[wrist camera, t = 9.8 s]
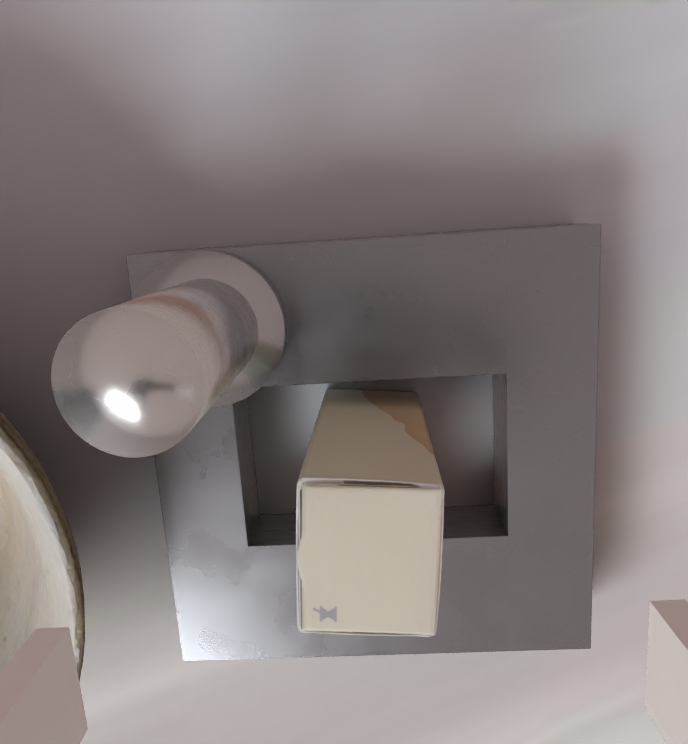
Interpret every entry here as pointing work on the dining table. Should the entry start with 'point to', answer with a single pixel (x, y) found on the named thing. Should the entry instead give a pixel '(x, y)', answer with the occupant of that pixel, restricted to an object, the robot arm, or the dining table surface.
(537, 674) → the dining table surface
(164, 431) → the round door knob
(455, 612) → the square recessed tray
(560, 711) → the dining table surface
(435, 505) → the box
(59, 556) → the bowl
